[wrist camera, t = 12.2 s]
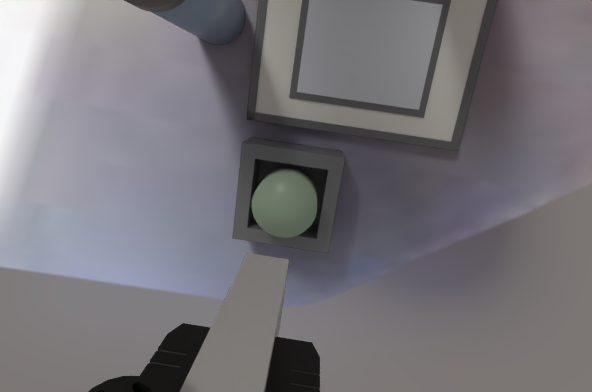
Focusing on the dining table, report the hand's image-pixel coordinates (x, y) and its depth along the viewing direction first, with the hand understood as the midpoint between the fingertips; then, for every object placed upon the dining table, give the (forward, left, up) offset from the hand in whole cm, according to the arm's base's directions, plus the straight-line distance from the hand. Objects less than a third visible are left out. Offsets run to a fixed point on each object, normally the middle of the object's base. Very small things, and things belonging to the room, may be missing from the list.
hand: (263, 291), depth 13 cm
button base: (0, 0, -17) cm, 17 cm away
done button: (0, 0, -14) cm, 14 cm away
